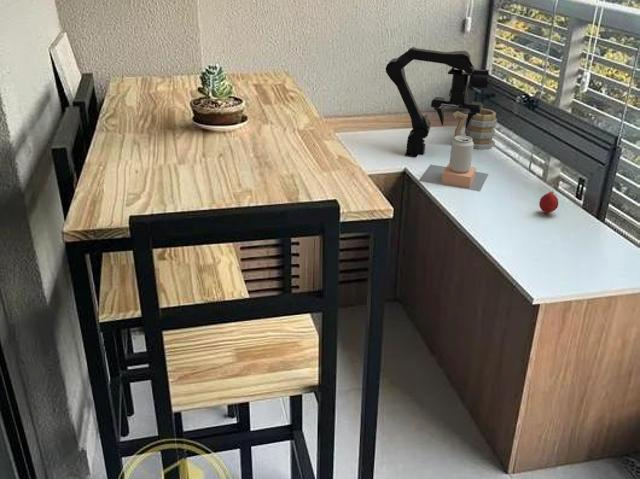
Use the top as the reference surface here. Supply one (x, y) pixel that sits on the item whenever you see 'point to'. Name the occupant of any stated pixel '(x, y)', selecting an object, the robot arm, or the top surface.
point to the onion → (548, 202)
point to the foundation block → (458, 177)
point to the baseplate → (435, 177)
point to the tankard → (478, 128)
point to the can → (461, 154)
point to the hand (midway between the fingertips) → (454, 126)
